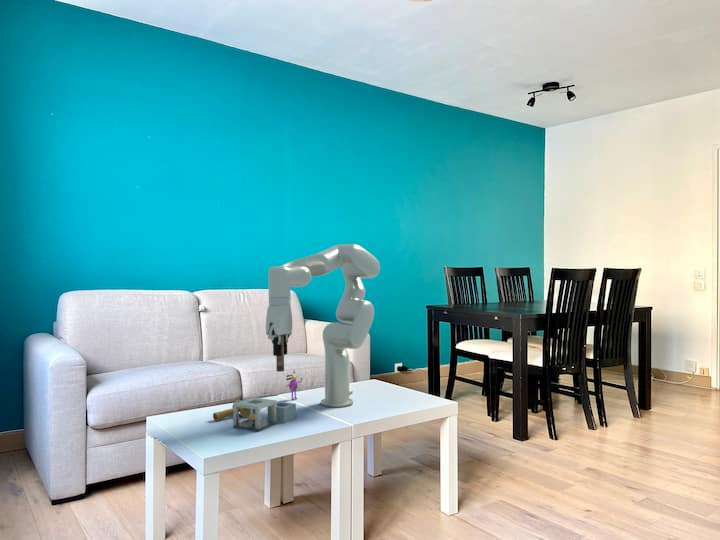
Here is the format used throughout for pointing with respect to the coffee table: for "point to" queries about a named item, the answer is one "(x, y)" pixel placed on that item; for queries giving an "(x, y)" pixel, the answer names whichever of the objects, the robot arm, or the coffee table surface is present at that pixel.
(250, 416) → the button
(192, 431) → the coffee table surface
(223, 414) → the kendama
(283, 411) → the stylus holder
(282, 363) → the stylus
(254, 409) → the guard frame
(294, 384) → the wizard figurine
